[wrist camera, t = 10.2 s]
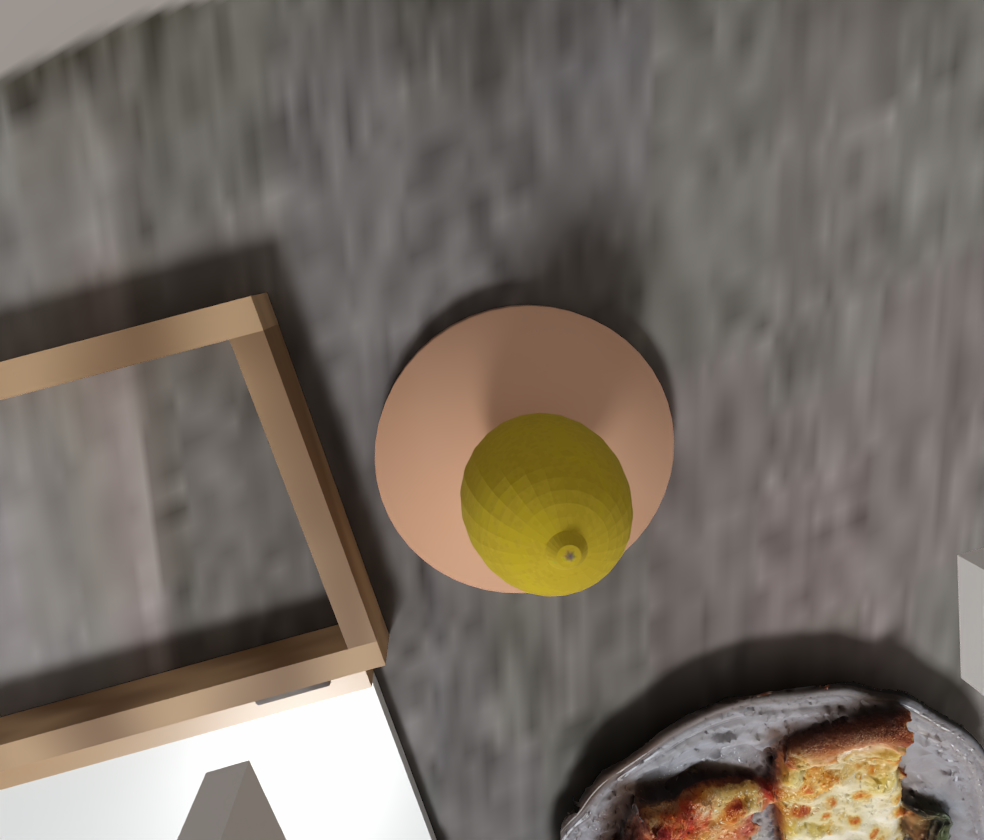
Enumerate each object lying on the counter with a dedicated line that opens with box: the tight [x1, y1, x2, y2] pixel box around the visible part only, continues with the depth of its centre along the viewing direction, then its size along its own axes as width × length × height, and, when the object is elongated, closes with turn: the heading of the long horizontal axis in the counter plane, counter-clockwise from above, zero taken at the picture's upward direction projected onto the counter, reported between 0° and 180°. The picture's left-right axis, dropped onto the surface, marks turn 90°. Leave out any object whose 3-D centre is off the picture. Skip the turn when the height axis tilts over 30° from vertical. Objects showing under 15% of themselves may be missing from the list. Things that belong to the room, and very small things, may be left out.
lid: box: [0, 669, 437, 840], centre depth 27 cm, size 22×13×1 cm, turn 104°
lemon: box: [460, 413, 633, 596], centre depth 20 cm, size 6×6×8 cm
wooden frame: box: [0, 292, 389, 772], centre depth 23 cm, size 24×16×2 cm, turn 104°
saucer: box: [375, 305, 674, 593], centre depth 24 cm, size 12×12×1 cm
